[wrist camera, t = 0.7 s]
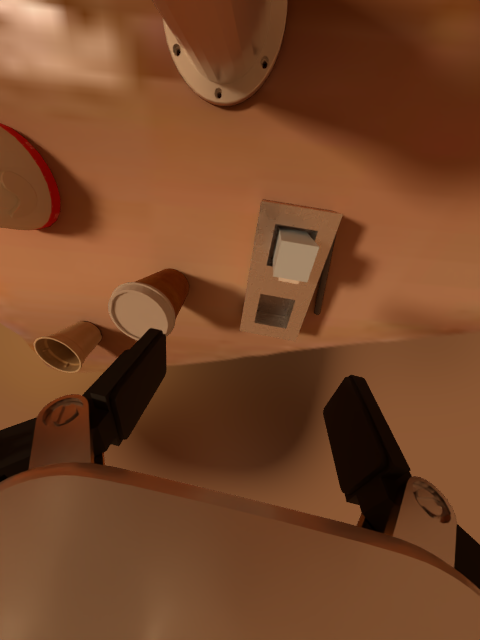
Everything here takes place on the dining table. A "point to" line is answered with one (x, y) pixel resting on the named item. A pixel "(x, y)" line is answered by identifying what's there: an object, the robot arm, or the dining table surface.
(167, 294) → the disposable coffee cup
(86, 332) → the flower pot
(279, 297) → the panel
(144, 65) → the dining table surface
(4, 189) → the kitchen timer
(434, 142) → the dining table surface
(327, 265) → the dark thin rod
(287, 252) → the plug
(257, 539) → the robot arm
